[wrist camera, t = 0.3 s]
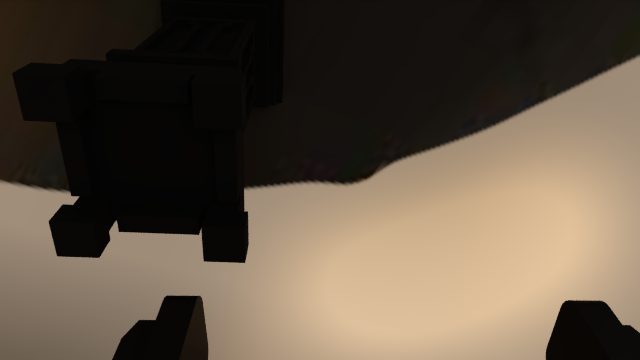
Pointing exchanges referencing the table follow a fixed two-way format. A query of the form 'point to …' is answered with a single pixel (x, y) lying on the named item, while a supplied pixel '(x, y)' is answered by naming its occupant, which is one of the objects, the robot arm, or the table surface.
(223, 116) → the chess piece
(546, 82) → the table surface
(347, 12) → the table surface
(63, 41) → the table surface
